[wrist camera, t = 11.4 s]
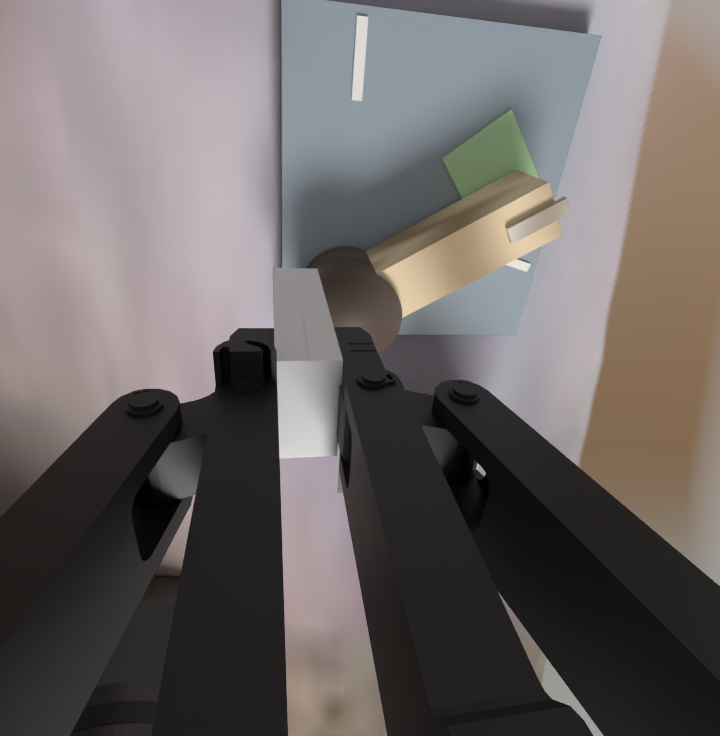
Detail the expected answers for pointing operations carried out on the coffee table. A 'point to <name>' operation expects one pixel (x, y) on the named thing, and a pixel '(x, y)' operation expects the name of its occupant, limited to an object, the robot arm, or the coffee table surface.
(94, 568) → the robot arm
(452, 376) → the coffee table surface
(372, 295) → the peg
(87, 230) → the coffee table surface
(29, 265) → the coffee table surface
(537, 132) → the board
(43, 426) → the coffee table surface
